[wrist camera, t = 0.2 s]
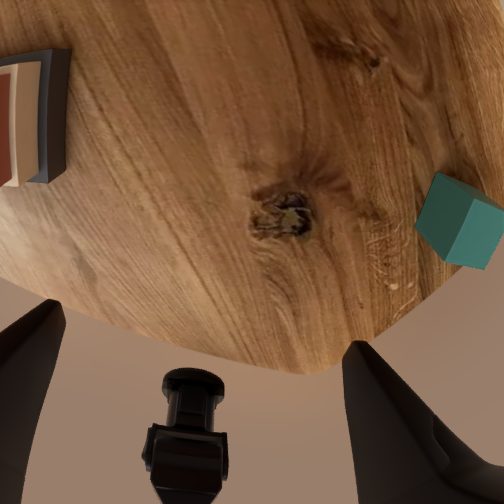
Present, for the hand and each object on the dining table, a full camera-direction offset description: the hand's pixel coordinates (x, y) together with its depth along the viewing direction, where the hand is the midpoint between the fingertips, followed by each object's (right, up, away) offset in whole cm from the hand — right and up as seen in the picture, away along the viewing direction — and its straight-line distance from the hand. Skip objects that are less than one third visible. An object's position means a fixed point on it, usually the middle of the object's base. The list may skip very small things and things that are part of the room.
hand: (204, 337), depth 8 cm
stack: (-16, +13, +7) cm, 21 cm away
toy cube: (+17, +6, +13) cm, 22 cm away
